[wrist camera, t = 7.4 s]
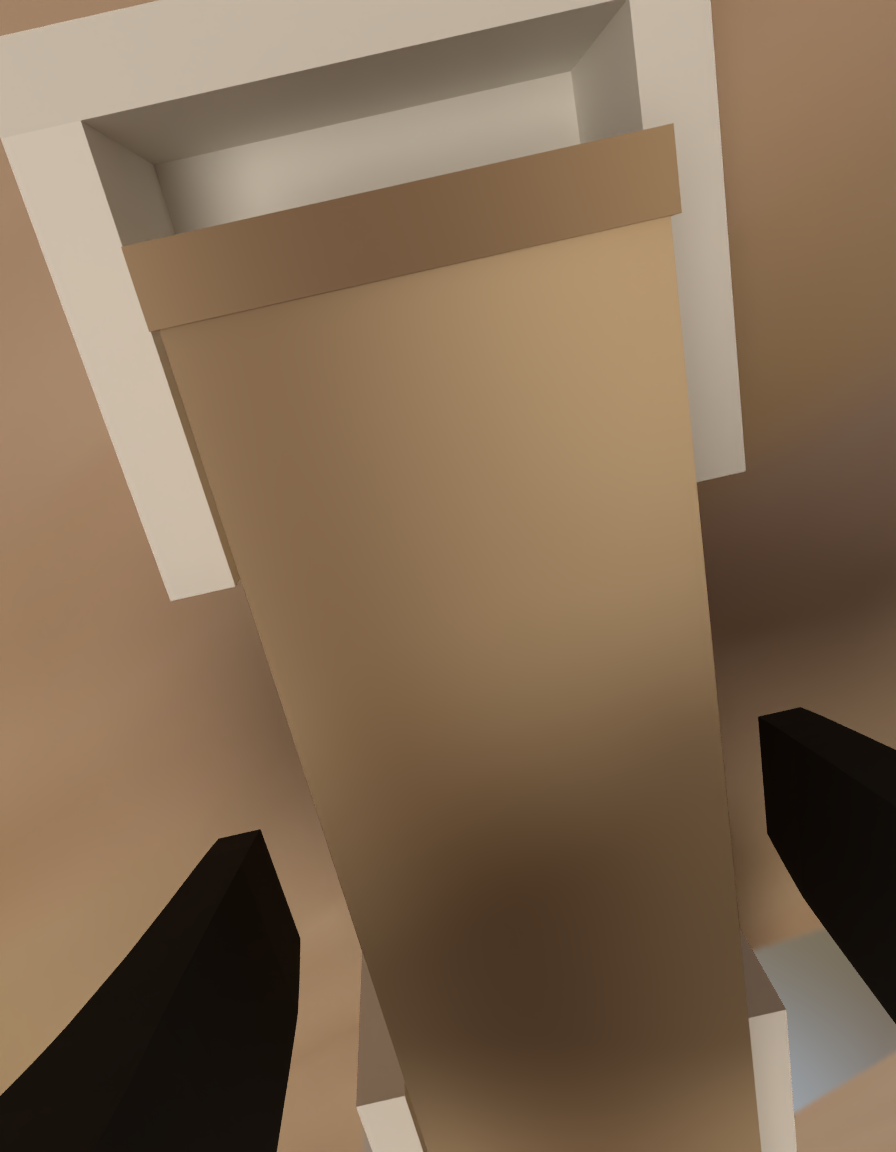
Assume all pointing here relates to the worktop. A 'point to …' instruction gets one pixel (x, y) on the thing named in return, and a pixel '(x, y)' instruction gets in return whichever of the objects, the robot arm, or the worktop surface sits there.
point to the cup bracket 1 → (333, 171)
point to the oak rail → (490, 626)
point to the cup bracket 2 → (398, 1126)
